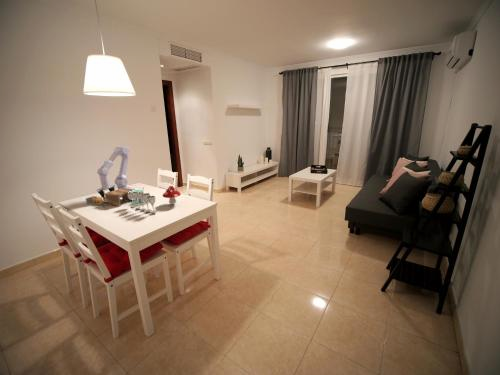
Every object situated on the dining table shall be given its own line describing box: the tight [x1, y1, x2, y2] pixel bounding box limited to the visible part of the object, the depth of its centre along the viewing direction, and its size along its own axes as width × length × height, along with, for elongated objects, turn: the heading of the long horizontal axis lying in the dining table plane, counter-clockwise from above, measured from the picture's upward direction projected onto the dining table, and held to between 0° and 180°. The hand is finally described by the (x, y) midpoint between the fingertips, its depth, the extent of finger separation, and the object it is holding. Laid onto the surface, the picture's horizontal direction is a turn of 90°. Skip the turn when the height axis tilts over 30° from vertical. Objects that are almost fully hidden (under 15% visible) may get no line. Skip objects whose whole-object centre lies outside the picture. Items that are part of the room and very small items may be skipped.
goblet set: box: [128, 191, 158, 214], centre depth 170 cm, size 28×6×13 cm, turn 62°
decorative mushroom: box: [162, 185, 182, 205], centre depth 182 cm, size 14×14×15 cm
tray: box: [85, 195, 107, 207], centre depth 187 cm, size 6×18×6 cm, turn 68°
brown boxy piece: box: [104, 188, 136, 207], centre depth 187 cm, size 17×14×10 cm
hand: (107, 197), depth 194 cm, fingers open, 7 cm apart
